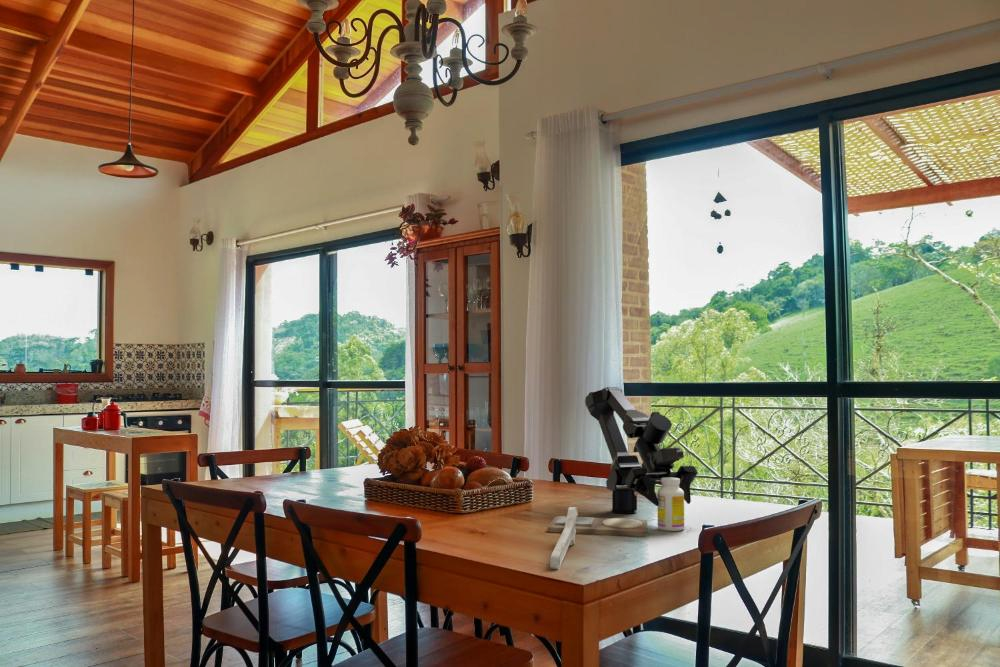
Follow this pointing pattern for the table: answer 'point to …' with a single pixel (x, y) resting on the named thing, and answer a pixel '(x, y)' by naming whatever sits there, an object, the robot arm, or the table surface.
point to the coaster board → (602, 526)
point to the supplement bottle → (670, 505)
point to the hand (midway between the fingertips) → (673, 503)
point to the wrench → (564, 539)
